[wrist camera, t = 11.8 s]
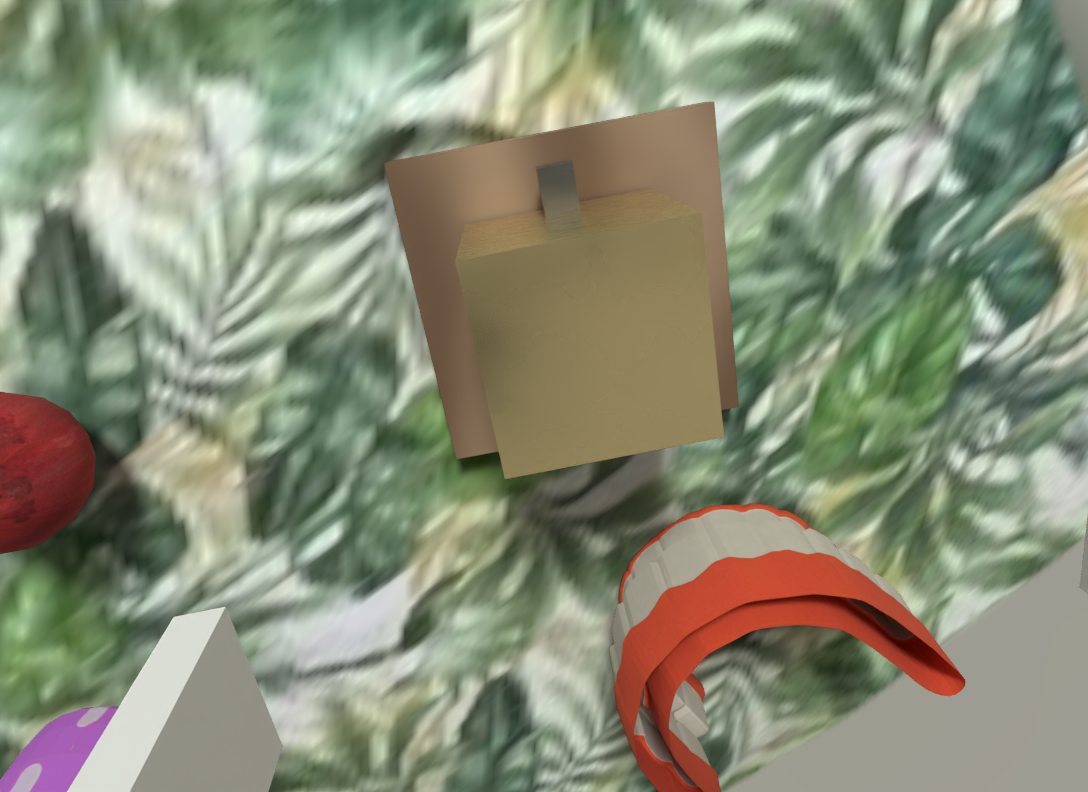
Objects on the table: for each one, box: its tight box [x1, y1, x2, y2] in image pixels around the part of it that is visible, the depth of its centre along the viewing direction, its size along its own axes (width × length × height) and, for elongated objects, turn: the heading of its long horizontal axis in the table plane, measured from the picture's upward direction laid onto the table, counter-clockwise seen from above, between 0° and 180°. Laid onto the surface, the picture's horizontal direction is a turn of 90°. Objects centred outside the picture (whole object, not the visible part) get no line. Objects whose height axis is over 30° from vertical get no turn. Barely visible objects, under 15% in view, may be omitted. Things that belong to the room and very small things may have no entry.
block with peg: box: [455, 160, 724, 479], centre depth 25 cm, size 10×7×7 cm
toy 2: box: [610, 504, 965, 792], centre depth 31 cm, size 12×10×8 cm
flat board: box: [384, 102, 739, 459], centre depth 27 cm, size 12×12×6 cm
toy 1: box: [0, 706, 119, 792], centre depth 28 cm, size 7×7×15 cm
